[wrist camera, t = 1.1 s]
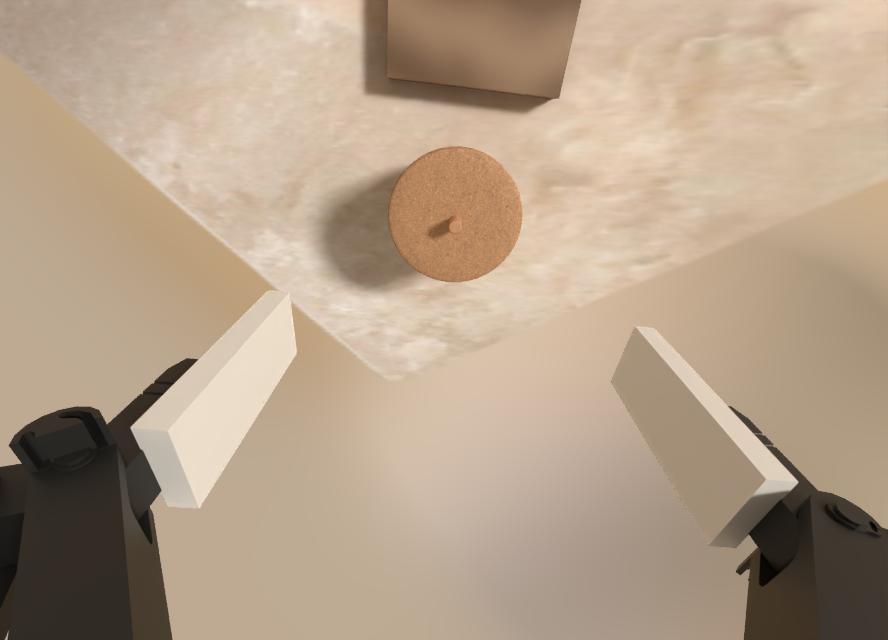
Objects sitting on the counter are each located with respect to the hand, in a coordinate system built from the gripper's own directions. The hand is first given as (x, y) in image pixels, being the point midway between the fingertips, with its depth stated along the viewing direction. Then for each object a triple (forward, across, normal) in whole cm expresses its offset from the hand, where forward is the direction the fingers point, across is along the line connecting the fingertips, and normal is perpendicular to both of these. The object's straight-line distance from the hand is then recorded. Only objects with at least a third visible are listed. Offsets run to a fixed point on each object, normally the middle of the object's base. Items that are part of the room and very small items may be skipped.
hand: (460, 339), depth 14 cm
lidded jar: (+25, 0, 0) cm, 25 cm away
